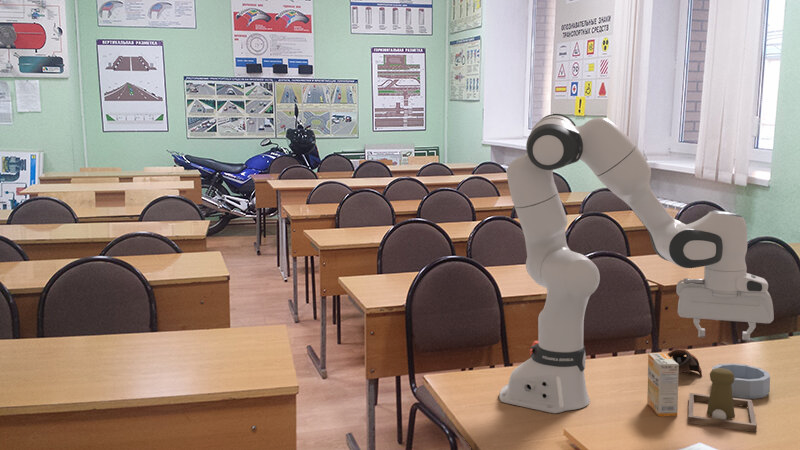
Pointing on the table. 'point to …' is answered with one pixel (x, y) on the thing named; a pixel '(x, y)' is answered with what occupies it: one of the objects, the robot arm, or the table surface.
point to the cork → (721, 392)
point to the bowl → (748, 381)
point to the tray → (720, 422)
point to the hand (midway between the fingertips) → (723, 338)
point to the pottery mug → (685, 361)
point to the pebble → (719, 414)
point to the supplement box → (663, 384)
